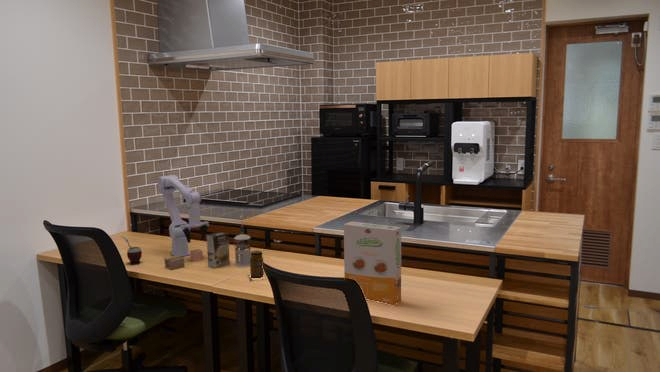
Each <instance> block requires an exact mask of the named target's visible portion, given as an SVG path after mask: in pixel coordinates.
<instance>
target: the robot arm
mask: <svg viewBox="0 0 660 372" xmlns="http://www.w3.org/2000/svg"><path fill="white" fill-rule="evenodd" d="M156 183H157V187H158V189H159V192H160V193H161V194H162V196H163V199H164V202H165V205H166V208H167V211H168V214H169V217H170V220H171V224H170V225H169V227H168V231H169V237H170V238H171V252H170V254H171V256H173V257H174V256H180V257H185V256H191V252H190V251H189V245H188V244H191V229H195V228H199V230H200V239H201V240H202V241H205V238H206V237H205V236H206V235H207V231H208V229H209V226H210V224H209V221H201V209H200V207H201V206H200V203H201V202H202V195H201V193H200V191H199V190H198V191H195V190H193V189H192V188H191V187H189V185H187V184H186V185H185V184H183V183H182V182H181V181H180V177H179V176H178V175H177V174H172V175H164V176H163V175H161V176H159V177H158V178H157V182H156ZM176 190H177V191H178V194H179V195H180V196H181V197H183V198H184V199H185V203H186V207H187V208H188V209H187V211H188V212H187V214H188V222H187V221H185V220H183V219H182V217H181V214H180V211H179V208H178V206H177V202H176V199H175V195H174V192H176Z"/></svg>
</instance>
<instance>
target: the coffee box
mask: <svg viewBox="0 0 660 372" xmlns="http://www.w3.org/2000/svg"><path fill="white" fill-rule="evenodd" d="M229 235H230V234H229V233H228V232H226V231H225V232H224V231H219V232H214V233H210V234H206V246H207V247H206V248H207V249H206V251H207V267H209V268H210V267H211V268H213V269H218V268H221V267H224V266H228V265H230V264H231V263H230V261H231V260H230V238H229V237H230V236H229Z"/></svg>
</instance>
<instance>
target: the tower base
mask: <svg viewBox="0 0 660 372" xmlns="http://www.w3.org/2000/svg"><path fill="white" fill-rule="evenodd" d="M164 266H165V268H166V269H168V270H170V271H173V270H178V269H183V268H185V263H183V264H179V265H175V266H170V265H167V264H165V263H164Z"/></svg>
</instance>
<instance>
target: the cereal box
mask: <svg viewBox="0 0 660 372" xmlns="http://www.w3.org/2000/svg"><path fill="white" fill-rule="evenodd" d="M343 260H344V263H343V264H344V266H343V267H344V269H343V270H344V273H343V274H344V279H345V278H351V279H354V280H356V281H357V282H358V283H359V285H360V286H361V288H362V290H363V292H364V295H365V297H366V299H369V300H374V301H379V302H383V303H387V304H391V305H395V304H396V303H398V302H399V301H400V302H402V226H393V225H386V224H385V225H384V224H377V223H376V224H375V223H368V222H360V221H349V222H346V223H344V224H343ZM400 302H399V303H400ZM399 303H398V304H399ZM387 304H386V305H387ZM391 305H390V306H391ZM396 305H397V304H396ZM396 305H395V306H396Z"/></svg>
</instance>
